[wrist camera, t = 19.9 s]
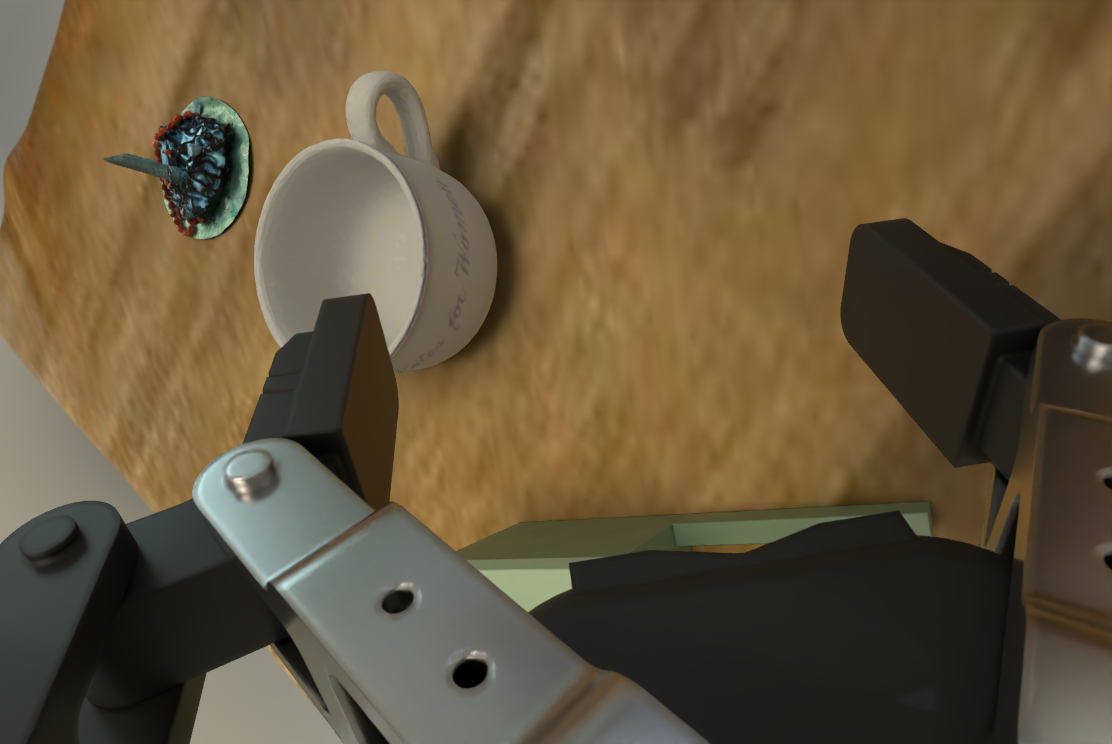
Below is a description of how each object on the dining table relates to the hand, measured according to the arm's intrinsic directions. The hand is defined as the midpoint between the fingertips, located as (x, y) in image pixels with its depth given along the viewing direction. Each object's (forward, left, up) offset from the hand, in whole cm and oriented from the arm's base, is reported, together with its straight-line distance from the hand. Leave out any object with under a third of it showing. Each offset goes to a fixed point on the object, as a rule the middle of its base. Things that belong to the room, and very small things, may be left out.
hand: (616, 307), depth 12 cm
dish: (+36, -16, -21) cm, 44 cm away
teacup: (+18, -7, -21) cm, 28 cm away
